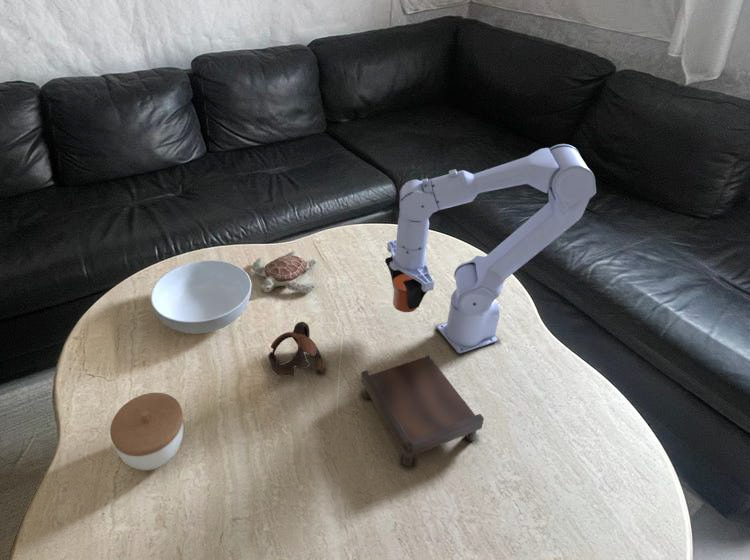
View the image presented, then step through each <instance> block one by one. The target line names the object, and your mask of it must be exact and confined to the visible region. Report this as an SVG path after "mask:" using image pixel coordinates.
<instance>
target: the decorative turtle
mask: <svg viewBox="0 0 750 560" xmlns="http://www.w3.org/2000/svg"><path fill="white" fill-rule="evenodd" d="M263 260H264V259H263V257H259V258H257V259H256V260H254V262H253V263H252V267H251V270H252V271H253V272H254V273H255V274H256V275H258V276H260V277H265V278H266V279H264V280H263V281H262V282H261V283H260V289H261V290H260V291H261V293H269V292H271V291H273V290H274V289H275V287H281V286H285V287H286V288H287V289H288V290H290V291H292V292H297V293H303V294H304V293H305V294H307V293H310V292H312V291H314V290H315V289H317V287H318V286H319V285H320V284H319V282H318V281H311V282H305V283H303V282H299V281H298V280H299V279H300V277H301V276H302V275H303V273H304V271H306V270H312V269H314V268H315V267H316V266H317V263H318V262H317V260H316V259H312V258H311V259H309V260H307V261H305V260H304V259H303V258H301V257H299V256H298V252H297V251H291V252H289V253H286V254H285V255H282V256H278V257H277V258H275V259H274V260H272V261H269V262H268V263H267V264H265V266H263Z"/></svg>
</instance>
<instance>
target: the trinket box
mask: <svg viewBox="0 0 750 560" xmlns="http://www.w3.org/2000/svg"><path fill="white" fill-rule="evenodd" d="M184 427H185V426H184V415H183V409H182V406H181V404H180V402H179V401H178V400H177V399H176V398H175V397H174V396H172V395H171V394H167V393H164V392H147V393H144V394H141V395H138V396H136V397H134V398H132V399H130V400H129V401H127V402H126V403H125V404H123V405H122V406H121V407H120V408H119V409H118V410H117V412H116V414H115V415H114V416H113V418H112V421H111V424H110V428H109V435H110V439H111V441H112V444H113V446H114V448H115V450H116V453H117V455H118V456H119V458H120V459H121V460H122V461H123V462H124V463H125V464H126V465H127V466H129V467H131V468H132V469H135V470H138V471H153V470H156V469H158V468H160V467H162V466H164V465H166V464H168V463H169V462H170V461H171V460H172V459H173V458H174V457H175V455H176V454H177V452H178V451H179V449H180V447H181V445H182V442H183V437H184V430H185V429H184Z"/></svg>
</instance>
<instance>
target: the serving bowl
mask: <svg viewBox="0 0 750 560" xmlns="http://www.w3.org/2000/svg"><path fill="white" fill-rule="evenodd" d="M252 288H253V287H252V280H251V277H250V275H249V274H248V273H247V271H246V270H244V268H242V267H241V266H238V265H236V264H235V263H232V262H229V261H224V260H220V259H219V260H218V259H205V260H196V261H191V262H188V263H184V264H181V265H179V266H176V267H174V268H173V269H171V270H169V271H167V272H166V273H164V274H163V275H162V276H161V277H159V279H158V280H157V281H156V283H155V284H154V285H153V287H152V289H151V293H150V304H151V307H152V308H153V311H154V313H155V315H156V316H157V318H158V319H159V320H160V321H161V322H162V323H163V324H164V325H166V326H167V327H168V328H170V329H171V330H175V331H177V332H181V333H184V334H195V335H196V334H207V333H211V332H215V331H218V330H220V329H223V328H225V327H227V326H229V325H230V324H231V323H233V322H235V321H236V320H237V319H238V318H239V317H240V316H241V315H242V314H243V312H244V311H245V309H247V306H248V304H249V301H250V299H251V294H252Z"/></svg>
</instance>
